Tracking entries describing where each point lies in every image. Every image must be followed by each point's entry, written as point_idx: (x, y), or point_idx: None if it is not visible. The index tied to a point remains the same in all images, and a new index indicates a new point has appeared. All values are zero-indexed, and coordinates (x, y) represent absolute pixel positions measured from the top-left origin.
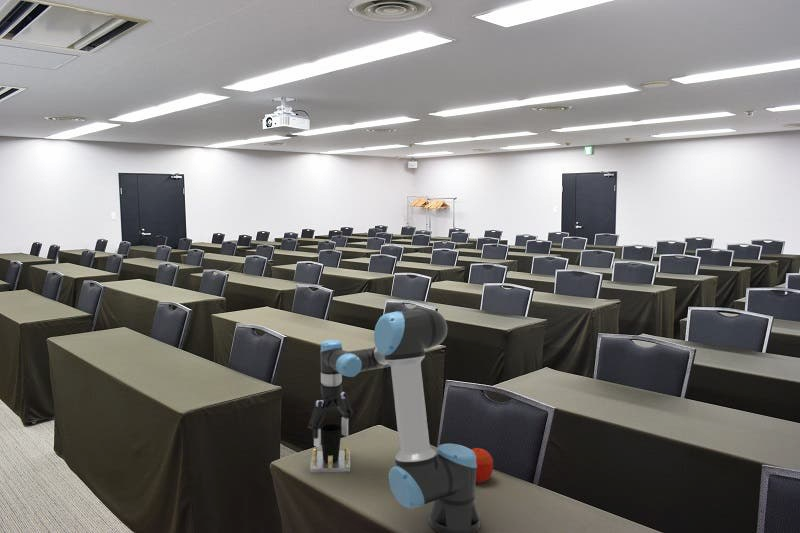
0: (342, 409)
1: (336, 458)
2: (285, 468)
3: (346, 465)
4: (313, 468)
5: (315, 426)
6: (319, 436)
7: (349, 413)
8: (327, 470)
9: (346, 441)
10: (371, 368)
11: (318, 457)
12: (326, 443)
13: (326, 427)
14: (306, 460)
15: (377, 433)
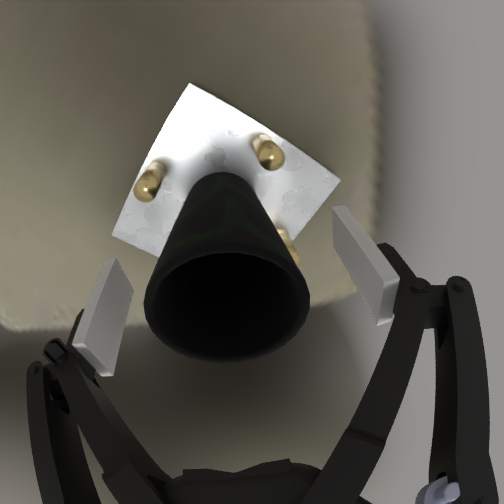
0: (105, 431)
1: (211, 177)
2: None
3: (191, 112)
4: (330, 172)
5: (434, 303)
6: (370, 245)
7: (52, 378)
8: (280, 136)
9: None
10: None
11: None
12: (276, 229)
13: (227, 343)
14: None
15: (9, 304)
